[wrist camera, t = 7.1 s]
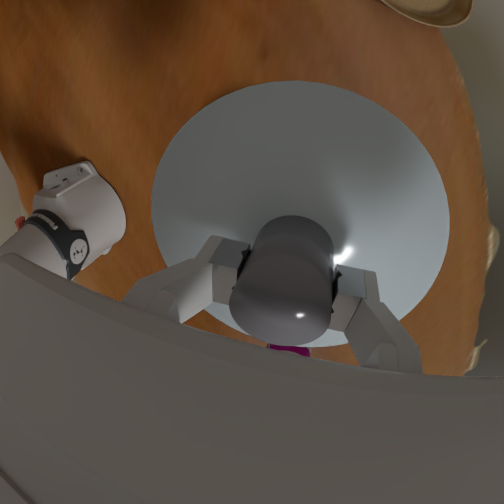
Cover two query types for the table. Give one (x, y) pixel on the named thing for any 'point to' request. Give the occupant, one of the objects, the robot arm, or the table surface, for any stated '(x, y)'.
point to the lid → (302, 204)
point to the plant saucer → (434, 11)
